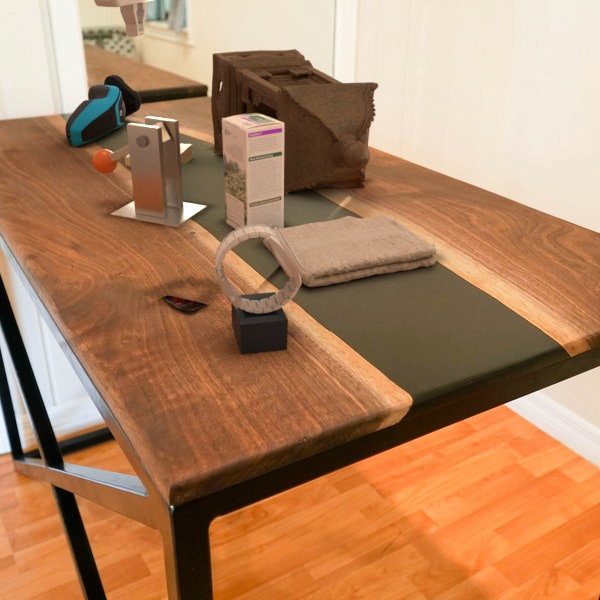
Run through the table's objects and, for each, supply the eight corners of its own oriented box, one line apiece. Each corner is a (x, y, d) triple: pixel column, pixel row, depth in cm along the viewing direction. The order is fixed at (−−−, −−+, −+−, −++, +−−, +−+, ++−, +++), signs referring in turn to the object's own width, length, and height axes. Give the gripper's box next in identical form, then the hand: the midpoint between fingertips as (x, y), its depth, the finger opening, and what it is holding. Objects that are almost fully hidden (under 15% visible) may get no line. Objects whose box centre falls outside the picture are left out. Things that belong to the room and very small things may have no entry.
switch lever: (95, 179, 87) (83, 157, 86) (109, 173, 90) (98, 151, 89) (161, 147, 81) (148, 123, 80) (174, 141, 84) (162, 117, 83)
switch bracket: (111, 222, 86) (99, 124, 80) (144, 203, 93) (136, 111, 87) (177, 234, 83) (171, 134, 77) (207, 214, 90) (203, 119, 84)
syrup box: (285, 234, 84) (287, 120, 77) (245, 244, 81) (244, 126, 74) (261, 220, 88) (261, 111, 81) (223, 229, 85) (220, 116, 78)
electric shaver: (103, 114, 137) (149, 118, 136) (43, 159, 116) (96, 165, 115) (97, 71, 132) (145, 75, 131) (33, 110, 112) (88, 116, 110)
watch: (307, 346, 61) (312, 237, 56) (221, 356, 59) (217, 244, 54) (294, 317, 66) (296, 214, 61) (213, 325, 64) (209, 219, 59)
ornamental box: (400, 224, 96) (431, 94, 88) (293, 227, 87) (317, 84, 79) (292, 154, 122) (308, 50, 114) (202, 151, 114) (213, 39, 106)
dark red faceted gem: (192, 315, 65) (192, 311, 65) (153, 302, 67) (152, 297, 67) (220, 297, 69) (220, 293, 69) (182, 284, 71) (182, 281, 71)
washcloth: (441, 266, 77) (445, 242, 76) (305, 294, 70) (306, 268, 69) (386, 230, 87) (389, 208, 85) (261, 251, 79) (261, 228, 78)
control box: (148, 154, 114) (146, 131, 112) (193, 157, 113) (191, 134, 111) (125, 171, 105) (123, 146, 103) (173, 175, 104) (172, 150, 102)
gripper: (119, -70, 84) (128, 45, 90) (172, -67, 101) (177, 29, 108) (72, -72, 84) (85, 42, 91) (133, -69, 102) (140, 27, 109)
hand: (135, 35), depth 100 cm, fingers closed
